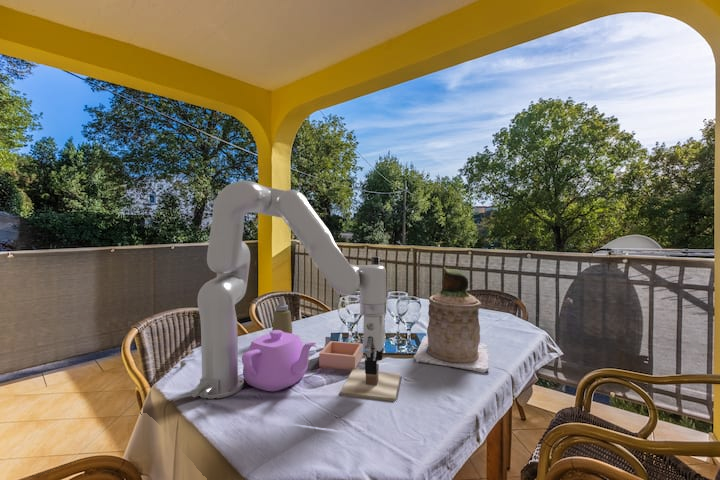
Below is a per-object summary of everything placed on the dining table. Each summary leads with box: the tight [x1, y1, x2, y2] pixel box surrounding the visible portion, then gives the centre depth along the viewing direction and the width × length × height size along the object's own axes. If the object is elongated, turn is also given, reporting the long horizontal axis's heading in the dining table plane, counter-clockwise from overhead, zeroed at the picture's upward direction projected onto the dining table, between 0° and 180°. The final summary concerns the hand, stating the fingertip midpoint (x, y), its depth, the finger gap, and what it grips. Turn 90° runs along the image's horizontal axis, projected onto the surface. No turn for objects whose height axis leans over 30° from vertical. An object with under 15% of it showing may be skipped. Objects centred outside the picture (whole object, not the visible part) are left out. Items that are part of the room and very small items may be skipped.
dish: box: [318, 340, 364, 372], centre depth 114 cm, size 12×12×5 cm
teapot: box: [241, 330, 317, 392], centre depth 98 cm, size 23×21×15 cm
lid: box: [339, 363, 401, 402], centre depth 98 cm, size 15×15×6 cm
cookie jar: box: [413, 266, 490, 374], centre depth 121 cm, size 25×25×32 cm
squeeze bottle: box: [271, 295, 293, 334], centre depth 135 cm, size 8×8×18 cm
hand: (374, 366), depth 97 cm, fingers open, 9 cm apart
